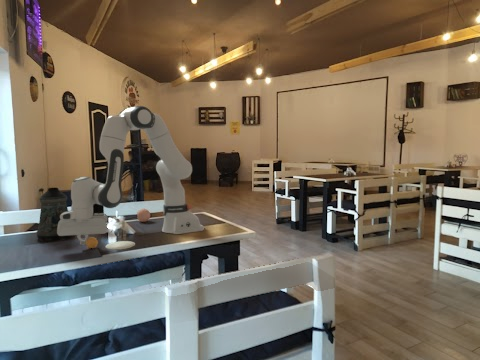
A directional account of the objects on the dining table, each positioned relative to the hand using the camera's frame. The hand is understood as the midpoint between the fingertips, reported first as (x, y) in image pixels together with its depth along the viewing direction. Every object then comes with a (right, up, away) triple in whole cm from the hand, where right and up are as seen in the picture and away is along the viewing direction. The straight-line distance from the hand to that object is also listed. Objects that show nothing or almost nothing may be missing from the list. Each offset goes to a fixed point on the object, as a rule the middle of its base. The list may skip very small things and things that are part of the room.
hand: (83, 244), depth 156 cm
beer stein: (-24, 0, +22) cm, 33 cm away
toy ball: (+12, +3, +55) cm, 56 cm away
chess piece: (-8, +1, +37) cm, 38 cm away
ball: (+4, 0, +1) cm, 4 cm away
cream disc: (+15, -2, +5) cm, 16 cm away
